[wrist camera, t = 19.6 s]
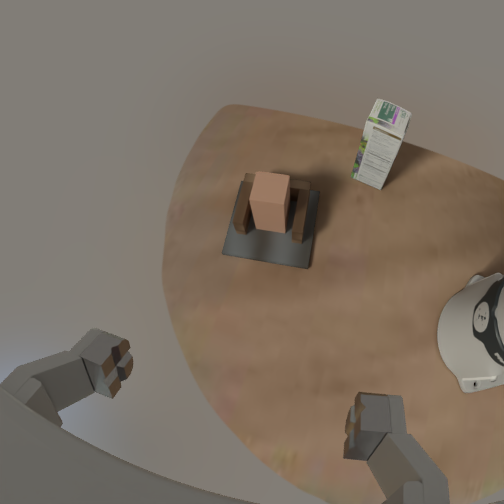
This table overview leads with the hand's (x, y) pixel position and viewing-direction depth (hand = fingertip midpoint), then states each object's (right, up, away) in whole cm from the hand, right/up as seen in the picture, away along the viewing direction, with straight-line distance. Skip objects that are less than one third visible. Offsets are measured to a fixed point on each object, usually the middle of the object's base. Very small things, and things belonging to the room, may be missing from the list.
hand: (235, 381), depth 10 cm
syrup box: (+21, +18, +41) cm, 50 cm away
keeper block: (+4, +10, +40) cm, 41 cm away
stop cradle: (+4, +9, +40) cm, 41 cm away
